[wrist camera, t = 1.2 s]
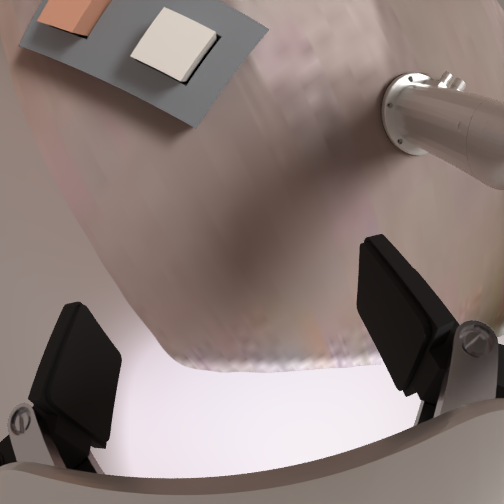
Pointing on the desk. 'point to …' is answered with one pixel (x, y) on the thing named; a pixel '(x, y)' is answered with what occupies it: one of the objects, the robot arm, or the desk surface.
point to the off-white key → (174, 44)
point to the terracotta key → (73, 14)
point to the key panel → (143, 75)
